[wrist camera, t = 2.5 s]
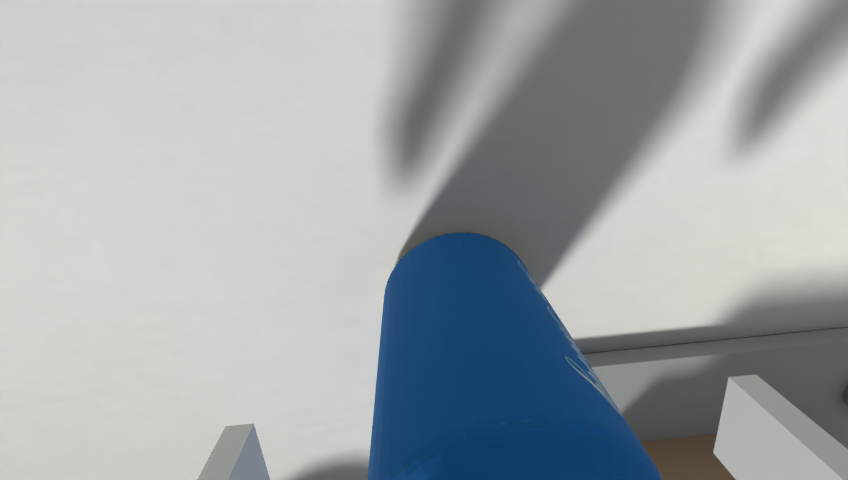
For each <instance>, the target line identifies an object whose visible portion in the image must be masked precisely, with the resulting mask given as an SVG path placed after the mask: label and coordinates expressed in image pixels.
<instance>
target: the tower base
mask: <svg viewBox="0 0 848 480" xmlns="http://www.w3.org/2000/svg"><path fill="white" fill-rule="evenodd" d="M583 356H584V357H585V359H586V360H587V362H588V363H589V365H590V366H591V368H592V369H593V371H594V372H595V374H596V375H597V377H598V378H599V380H600V381H601V383H602V385H603V386H604V388H605V389H606V391H607V392H608V394H609V395H610V397H611V398H612V400H613V401H614V403H615V404H616V406H617V407H618V409H619V411H620V412H621V414H622V415H623V417H624V418H625V420H626V421H627V423H628V424H629V426H630V427H631V429H632V430H633V432H634V433H635V435H636V437H637V438H638V440H639V441H640V443H641V444H642V446H643V447H644V449H645V450H646V452H647V453H648V455H649V456H650V458H651V459H652V461H653V463H654V464H655V466H656V467H657V469H658V471H659V473H660V475H661V478H662V480H736V479H735V478H734V477H733V476H732V475H731V473H730V472H729V471H728V470H727V469H726V467H725V466H724V465H723V464H722V463H721V461H720V460H719V459H718V458H717V457H716V456H715V454H714V453H713V451H714V446H715V442H716V437H717V432H718V427H719V422H720V417H721V412H722V407H723V402H724V397H725V392H726V388H727V383H728V378H729V377H735V376H745V375H755V374H756V375H757V376H759V377H760V378H761V379H762V380H764V381H765V382H766V383H767V384H768V385H770V386H771V387H772V388H773V389H775V390H776V391H777V392H778V393H779V394H781V395H782V396H783V397H784V398H786V399H787V400H788V401H789V402H790V403H792V404H793V405H794V406H795V407H797V408H798V409H799V410H800V411H801V412H803V413H804V414H805V415H806V416H808V417H809V418H810V419H811V420H812V421H814V422H815V423H816V424H817V425H819V426H820V427H821V428H822V429H823V430H825V431H826V432H827V433H828V434H830V435H831V436H832V437H833V438H834V439H836V440H837V441H838V442H839V443H841V444H842V445H843V446H844V447H846V448H847V449H848V327H847V328H837V329H827V330H817V331H807V332H797V333H787V334H778V335H768V336H758V337H748V338H738V339H728V340H718V341H708V342H698V343H688V344H678V345H668V346H658V347H648V348H638V349H628V350H618V351H608V352H598V353H588V354H583Z"/></svg>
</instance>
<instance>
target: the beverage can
mask: <svg viewBox="0 0 848 480" xmlns="http://www.w3.org/2000/svg"><path fill="white" fill-rule="evenodd" d="M368 480H662V478H661V475H660V473H659V471H658V469H657V467H656V466H655V464H654V463H653V461H652V459H651V458H650V456H649V455H648V453H647V452H646V450H645V449H644V447H643V446H642V444H641V443H640V441H639V440H638V438H637V437H636V435H635V433H634V432H633V430H632V429H631V427H630V426H629V424H628V423H627V421H626V420H625V418H624V417H623V415H622V414H621V412H620V411H619V409H618V407H617V406H616V404H615V403H614V401H613V400H612V398H611V397H610V395H609V394H608V392H607V391H606V389H605V388H604V386H603V385H602V383H601V381H600V380H599V378H598V377H597V375H596V374H595V372H594V371H593V369H592V368H591V366H590V365H589V363H588V362H587V360H586V359H585V357H584V356H583V354H582V352H581V351H580V349H579V348H578V346H577V345H576V343H575V342H574V340H573V339H572V337H571V336H570V334H569V333H568V331H567V330H566V328H565V326H564V325H563V323H562V322H561V320H560V319H559V317H558V316H557V314H556V313H555V311H554V310H553V308H552V307H551V305H550V304H549V302H548V300H547V299H546V297H545V296H544V294H543V293H542V291H541V290H540V288H539V287H538V285H537V284H536V282H535V281H534V279H533V278H532V276H531V275H530V273H529V271H528V270H527V268H526V267H525V265H524V264H523V262H522V261H521V260H520V258H519V257H518V256H517V255H516V254H515V253H514V252H513V251H512V250H511V249H509V248H508V247H507V246H506V245H504V244H502V243H501V242H499V241H497V240H495V239H492V238H490V237H487V236H484V235H480V234H474V233H450V234H444V235H440V236H436V237H434V238H431V239H429V240H426V241H424V242H423V243H421V244H419V245H417V246H416V247H414V248H413V249H412V250H410V251H409V252H408V253H407V254H406V255H405V256H404V257H403V258H402V259H401V260H400V261H399V262H398V264H397V265H396V266H395V268H394V270H393V271H392V273H391V275H390V277H389V279H388V282H387V285H386V289H385V295H384V304H383V315H382V327H381V338H380V349H379V360H378V371H377V382H376V393H375V404H374V415H373V427H372V438H371V449H370V460H369V471H368Z"/></svg>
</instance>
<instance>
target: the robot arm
mask: <svg viewBox="0 0 848 480" xmlns="http://www.w3.org/2000/svg"><path fill="white" fill-rule="evenodd" d="M713 453H714V454H715V456H716V457H717V458H718V459H719V460H720V461H721V463H722V464H723V465H724V466H725V467H726V469H727V470H728V471H729V472H730V473H731V475H732V476H733V477H734V478H735V479H736V480H848V449H847V448H846V447H844V446H843V445H842V444H841V443H839V442H838V441H837V440H836V439H834V438H833V437H832V436H831V435H830V434H828V433H827V432H826V431H825V430H823V429H822V428H821V427H820V426H819V425H817V424H816V423H815V422H814V421H812V420H811V419H810V418H809V417H808V416H806V415H805V414H804V413H803V412H801V411H800V410H799V409H798V408H797V407H795V406H794V405H793V404H792V403H790V402H789V401H788V400H787V399H786V398H784V397H783V396H782V395H781V394H779V393H778V392H777V391H776V390H775V389H773V388H772V387H771V386H770V385H768V384H767V383H766V382H765V381H764V380H762V379H761V378H760V377H759V376H757V375H756V374H755V375H745V376H735V377H729V378H728V383H727V388H726V392H725V397H724V402H723V407H722V412H721V417H720V422H719V427H718V432H717V437H716V442H715V446H714V451H713ZM197 480H270V478H269V475H268V471H267V468H266V464H265V461H264V458H263V454H262V451H261V447H260V444H259V440H258V437H257V434H256V430H255V427H254V424H247V425H237V426H226V427H225V429H224V431H223V433H222V434H221V436H220V438H219V440H218V442H217V444H216V446H215V448H214V449H213V451H212V453H211V455H210V457H209V459H208V461H207V462H206V464H205V466H204V468H203V470H202V472H201V474H200V476H199V477H198V479H197Z"/></svg>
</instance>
